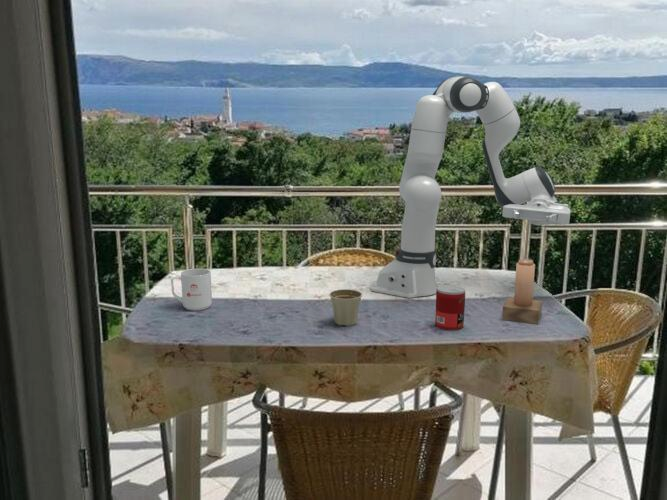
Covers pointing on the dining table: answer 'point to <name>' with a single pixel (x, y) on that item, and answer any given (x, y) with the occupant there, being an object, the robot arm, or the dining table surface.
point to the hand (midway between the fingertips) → (532, 217)
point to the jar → (524, 282)
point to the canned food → (450, 307)
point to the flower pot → (345, 306)
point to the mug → (195, 289)
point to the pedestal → (522, 311)
